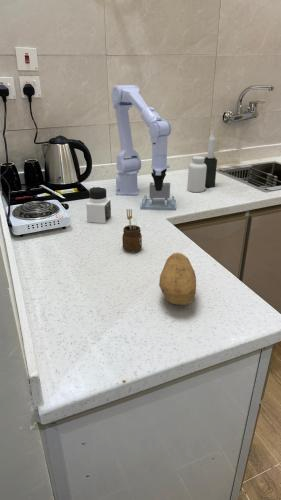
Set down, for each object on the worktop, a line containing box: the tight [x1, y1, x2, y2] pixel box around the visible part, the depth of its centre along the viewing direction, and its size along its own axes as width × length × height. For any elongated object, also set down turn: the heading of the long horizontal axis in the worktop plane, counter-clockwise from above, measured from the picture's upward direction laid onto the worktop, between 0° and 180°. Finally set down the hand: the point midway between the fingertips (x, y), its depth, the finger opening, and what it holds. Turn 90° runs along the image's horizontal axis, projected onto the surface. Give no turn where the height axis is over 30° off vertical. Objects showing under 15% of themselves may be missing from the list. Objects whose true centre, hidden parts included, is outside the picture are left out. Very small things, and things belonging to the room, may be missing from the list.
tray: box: [139, 194, 177, 211], centre depth 144 cm, size 14×10×4 cm
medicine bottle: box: [85, 186, 112, 224], centre depth 129 cm, size 7×7×12 cm
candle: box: [204, 130, 218, 189], centre depth 163 cm, size 5×5×25 cm
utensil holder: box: [121, 208, 143, 254], centre depth 108 cm, size 6×6×12 cm
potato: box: [158, 252, 197, 306], centre depth 85 cm, size 9×16×9 cm, turn 173°
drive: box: [148, 182, 171, 199], centre depth 142 cm, size 8×4×5 cm, turn 84°
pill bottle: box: [186, 155, 207, 193], centre depth 160 cm, size 8×8×15 cm
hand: (158, 188), depth 142 cm, fingers closed on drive, 4 cm apart
